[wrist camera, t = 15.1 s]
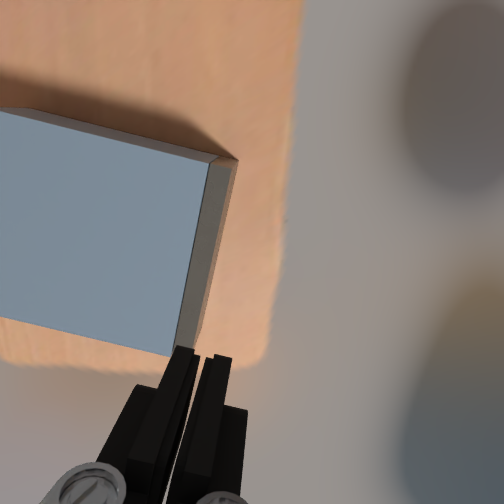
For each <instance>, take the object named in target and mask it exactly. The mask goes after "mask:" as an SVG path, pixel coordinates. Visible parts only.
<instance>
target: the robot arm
mask: <svg viewBox="0 0 504 504" xmlns="http://www.w3.org/2000/svg"><path fill="white" fill-rule="evenodd" d="M194 351H195V349H192V348H188V347H184V346H180V345H176V347H175V349H174V352H173V354H172V356H171V359H170V361H169V363H168V365H167V368H166V370H165V372H164V375H163V377H162V379H161V382H160V384H159V386H158V388H157V389H156V388H151V387H147V386H143V385H139V384H137V385H136V386H135V387H134V389H133V391H132V393H131V395H130V397H129V399H128V401H127V402H126V404H125V406H124V408H123V410H122V412H121V414H120V416H119V418H118V420H117V422H116V424H115V425H114V427H113V429H112V431H111V433H110V435H109V437H108V439H107V441H106V443H105V445H104V447H103V448H102V450H101V453H100V454H99V456H98V458H97V460H96V462H90V463H85V464H82V465H79V466H76V467H74V468H72V469H71V470H69V471H67V472H66V473H65V474H64V475H63V476H62V477H61V478H60V479H59V480H58V481H57V482H56V484H55V485H54V486H53V487H52V489H51V490H50V491H49V492H48V493H47V495H46V496H45V497H44V499H43V500H42V501H41V502H40V504H162V502H163V499H164V495H165V492H166V489H167V485H168V482H169V479H170V475H171V472H172V468H173V465H174V461H175V458H176V455H177V451H178V448H179V445H180V441H181V438H182V434H183V430H184V426H185V422H186V418H187V413H188V409H189V405H190V400H191V396H192V391H193V387H194V383H195V378H196V374H197V370H198V365H199V361H200V356H199V355H195V354H194ZM231 363H232V358H230V357H225V356H221V355H217V354H214V358H213V359H212V358H208V357H206V359H205V363H204V366H203V370H202V373H201V377H200V380H199V383H198V387H197V390H196V394H195V397H194V401H193V404H192V408H191V411H190V414H189V418H188V421H187V425H186V428H185V432H184V435H183V439H182V442H181V446H180V449H179V452H178V456H177V459H176V463H175V467H174V471H173V474H172V479H171V483H170V488H169V492H168V496H167V501H166V504H248V503H247V502H246V501H245V500H244V499H243V498H241V497H240V490H241V480H242V470H243V459H244V449H245V439H246V427H247V417H248V411H247V410H244V409H240V408H236V407H232V406H227V405H224V401H225V396H226V390H227V385H228V379H229V374H230V368H231Z"/></svg>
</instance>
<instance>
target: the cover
mask: <svg viewBox="0 0 504 504" xmlns="http://www.w3.org/2000/svg"><path fill="white" fill-rule="evenodd" d="M218 157H219V156H218V155H214V154H210V153H206V152H202V151H198V150H194V149H190V148H186V147H182V146H178V145H174V144H170V143H166V142H162V141H158V140H154V139H150V138H146V137H142V136H138V135H134V134H130V133H126V132H122V131H118V130H114V129H110V128H106V127H102V126H98V125H94V124H90V123H86V122H83V121H79V120H75V119H71V118H67V117H63V116H59V115H55V114H51V113H47V112H43V111H39V110H35V109H31V108H13V107H0V317H5V318H9V319H13V320H17V321H21V322H26V323H30V324H34V325H38V326H42V327H46V328H51V329H55V330H59V331H63V332H67V333H71V334H76V335H80V336H84V337H88V338H92V339H97V340H101V341H105V342H109V343H113V344H117V345H122V346H126V347H130V348H134V349H138V350H143V351H147V352H151V353H155V354H159V355H163V356H168V357H171V355H172V352H173V348H174V343H175V338H176V333H177V328H178V323H179V317H180V311H181V306H182V301H183V296H184V291H185V286H186V281H187V276H188V271H189V266H190V261H191V256H192V251H193V246H194V241H195V236H196V231H197V226H198V221H199V216H200V211H201V206H202V201H203V195H204V190H205V185H206V180H207V175H208V170H209V167H210V163H211V162H213V161H214V160H215V159H217V158H218Z"/></svg>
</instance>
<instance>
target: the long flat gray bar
mask: <svg viewBox="0 0 504 504" xmlns="http://www.w3.org/2000/svg"><path fill="white" fill-rule="evenodd" d="M238 162H239V160H235V159H231V158H227V157H223V156H220V157H218V158H217V159H215V160H214V161H213V162H211V163H210V167H209V172H208V177H207V182H206V187H205V192H204V197H203V202H202V207H201V212H200V217H199V222H198V227H197V232H196V238H195V243H194V248H193V253H192V258H191V263H190V268H189V273H188V278H187V283H186V288H185V293H184V298H183V303H182V308H181V313H180V318H179V323H178V328H177V333H176V338H175V343H174V348H173V352H174V349H175V347H176V345H180V346H184V347H188V348H192V349H194V348H195V345H196V342H197V339H198V336H199V333H200V331H201V328H202V323H203V319H204V314H205V310H206V305H207V301H208V296H209V292H210V287H211V283H212V278H213V274H214V269H215V265H216V260H217V256H218V251H219V247H220V242H221V238H222V233H223V229H224V224H225V220H226V215H227V211H228V206H229V202H230V198H231V193H232V189H233V184H234V180H235V175H236V171H237V166H238ZM172 354H173V353H172Z"/></svg>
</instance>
